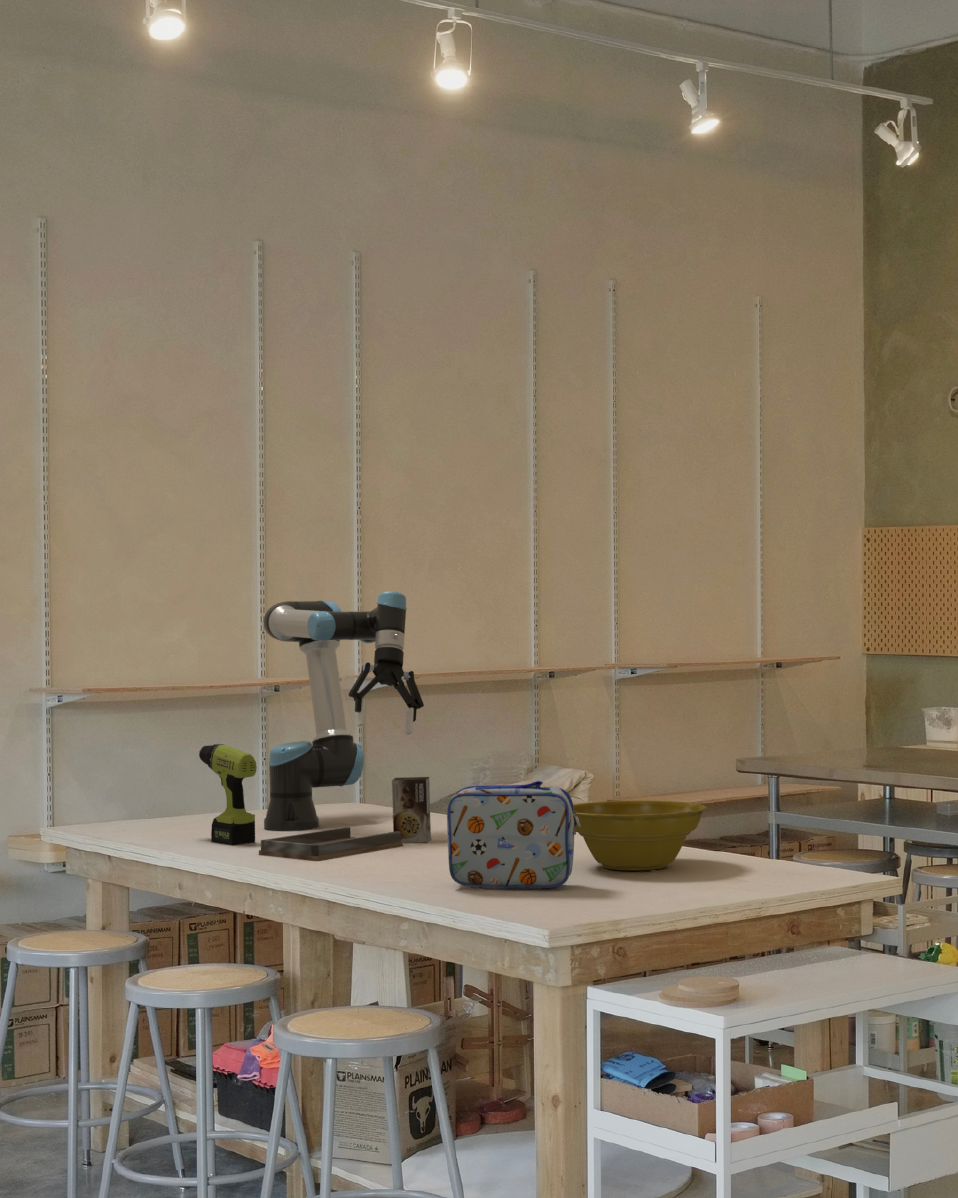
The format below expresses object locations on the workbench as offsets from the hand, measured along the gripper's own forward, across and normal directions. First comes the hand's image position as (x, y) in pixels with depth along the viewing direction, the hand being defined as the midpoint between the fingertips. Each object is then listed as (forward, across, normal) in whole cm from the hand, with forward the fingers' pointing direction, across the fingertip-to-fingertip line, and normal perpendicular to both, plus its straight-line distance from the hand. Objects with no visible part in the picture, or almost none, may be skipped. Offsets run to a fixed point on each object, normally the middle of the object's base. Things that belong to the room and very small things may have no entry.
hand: (384, 729), depth 388 cm
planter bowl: (+40, +35, -62) cm, 81 cm away
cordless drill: (+26, -27, +36) cm, 52 cm away
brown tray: (+32, -11, +3) cm, 34 cm away
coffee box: (+26, +12, +6) cm, 30 cm away
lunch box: (+49, 0, -68) cm, 84 cm away
